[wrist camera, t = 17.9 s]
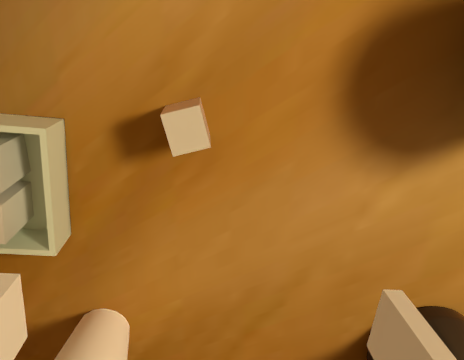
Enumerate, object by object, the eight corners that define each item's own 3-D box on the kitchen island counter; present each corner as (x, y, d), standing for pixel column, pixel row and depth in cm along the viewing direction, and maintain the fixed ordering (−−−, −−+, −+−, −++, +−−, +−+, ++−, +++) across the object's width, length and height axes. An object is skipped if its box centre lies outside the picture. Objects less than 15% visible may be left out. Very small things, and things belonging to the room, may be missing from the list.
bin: (71, 234, 41) (55, 256, 37) (-35, 228, 40) (-63, 250, 36) (64, 118, 37) (45, 128, 33) (-55, 108, 36) (-90, 117, 31)
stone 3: (209, 134, 38) (210, 147, 34) (176, 142, 38) (172, 156, 34) (200, 97, 37) (199, 105, 32) (165, 105, 37) (160, 114, 32)
